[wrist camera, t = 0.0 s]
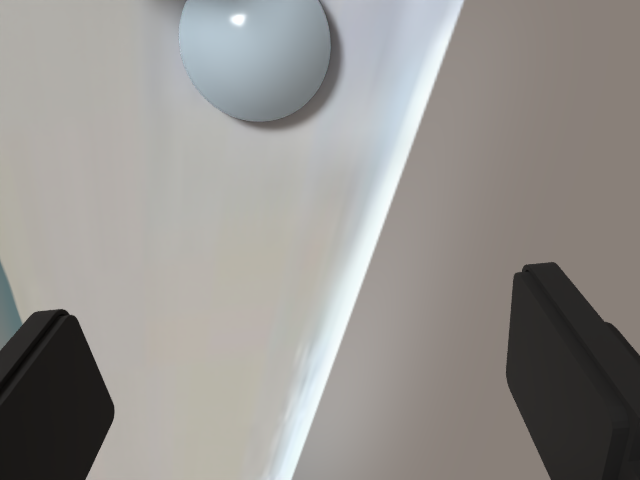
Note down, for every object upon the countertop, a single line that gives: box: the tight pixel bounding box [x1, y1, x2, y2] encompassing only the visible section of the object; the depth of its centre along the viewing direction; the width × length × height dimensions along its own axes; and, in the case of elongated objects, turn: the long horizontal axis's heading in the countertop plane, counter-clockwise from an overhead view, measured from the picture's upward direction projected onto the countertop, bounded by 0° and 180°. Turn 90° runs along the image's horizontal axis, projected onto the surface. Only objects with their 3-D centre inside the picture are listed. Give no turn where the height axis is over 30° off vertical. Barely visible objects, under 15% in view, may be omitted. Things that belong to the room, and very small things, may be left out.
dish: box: [179, 0, 331, 122], centre depth 37 cm, size 11×11×1 cm
